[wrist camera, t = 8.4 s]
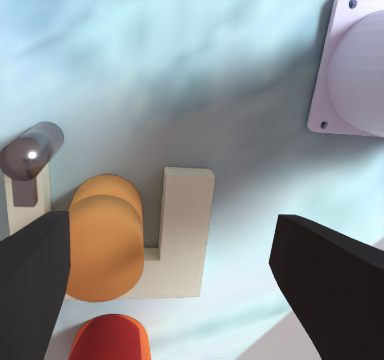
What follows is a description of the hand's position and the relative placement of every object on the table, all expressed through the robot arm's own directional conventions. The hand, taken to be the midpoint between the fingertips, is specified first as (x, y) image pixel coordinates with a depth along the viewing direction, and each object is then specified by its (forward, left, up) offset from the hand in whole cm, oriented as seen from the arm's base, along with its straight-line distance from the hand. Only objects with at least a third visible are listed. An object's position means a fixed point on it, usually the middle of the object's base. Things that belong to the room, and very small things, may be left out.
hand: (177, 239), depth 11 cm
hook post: (+7, -1, -10) cm, 12 cm away
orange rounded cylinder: (+3, +4, -10) cm, 11 cm away
